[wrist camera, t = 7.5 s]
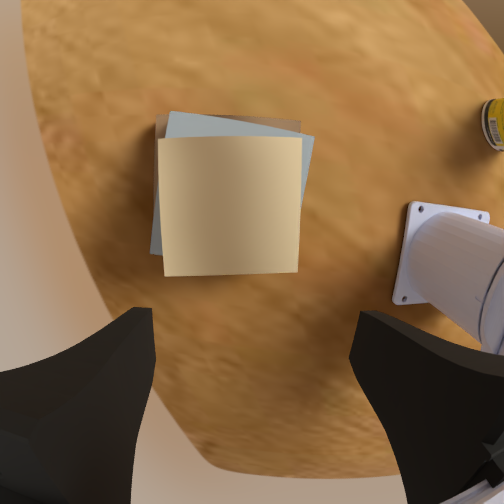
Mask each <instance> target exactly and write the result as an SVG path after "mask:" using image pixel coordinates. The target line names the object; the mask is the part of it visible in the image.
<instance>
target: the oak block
mask: <svg viewBox="0 0 504 504" xmlns="http://www.w3.org/2000/svg"><path fill="white" fill-rule="evenodd" d="M301 171H302V138H296V137H269V136H206V137H180V138H162V139H158V175H159V202H160V221H161V236H162V250H163V262H164V273H165V277H166V276H205V275H237V274H265V273H289V272H298V253H299V232H300V206H301Z"/></svg>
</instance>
